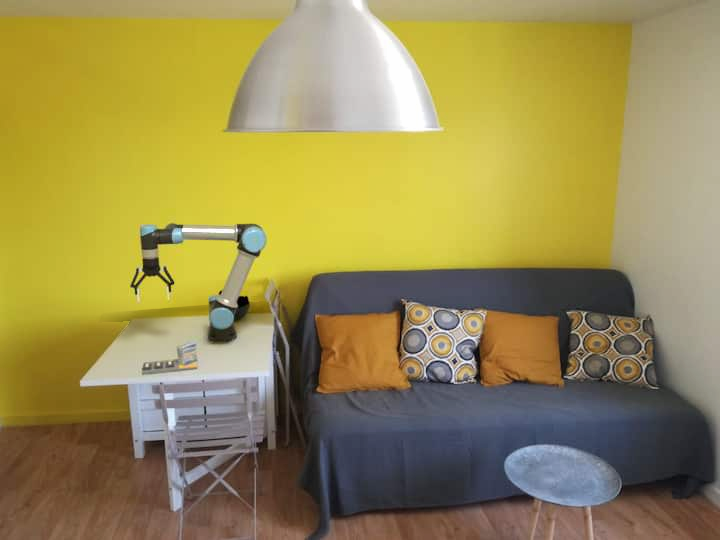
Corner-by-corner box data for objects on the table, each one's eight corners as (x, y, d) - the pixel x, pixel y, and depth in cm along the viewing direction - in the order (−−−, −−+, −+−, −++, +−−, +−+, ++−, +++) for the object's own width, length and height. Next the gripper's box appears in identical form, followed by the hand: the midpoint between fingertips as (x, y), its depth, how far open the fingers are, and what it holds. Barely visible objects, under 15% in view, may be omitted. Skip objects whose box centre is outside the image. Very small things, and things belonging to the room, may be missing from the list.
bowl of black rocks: (235, 313, 366) (233, 282, 362) (258, 319, 354) (256, 288, 350) (208, 321, 351) (206, 289, 347) (230, 328, 339) (228, 295, 335)
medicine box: (184, 366, 283) (182, 348, 281) (177, 363, 286) (176, 346, 284) (197, 360, 289) (196, 343, 287) (191, 358, 292) (190, 341, 290)
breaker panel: (196, 359, 295) (196, 353, 294) (197, 369, 283) (197, 363, 282) (143, 364, 288) (143, 358, 288) (142, 375, 276) (141, 368, 275)
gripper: (177, 254, 300) (180, 295, 305) (123, 257, 293) (127, 299, 298) (177, 257, 293) (180, 299, 298) (121, 260, 286) (126, 304, 291)
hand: (153, 299), depth 298 cm, fingers open, 13 cm apart
